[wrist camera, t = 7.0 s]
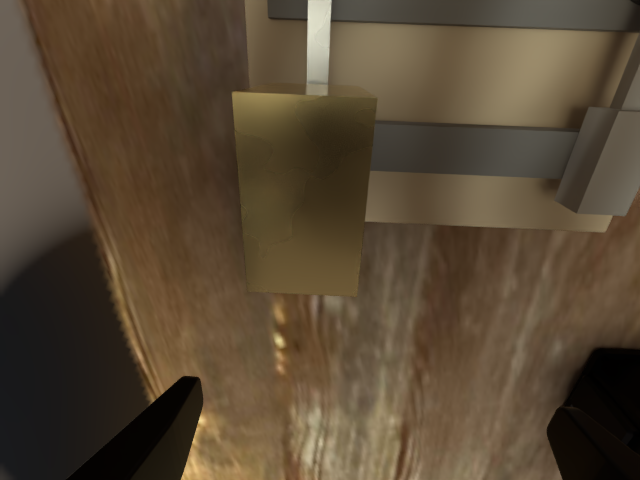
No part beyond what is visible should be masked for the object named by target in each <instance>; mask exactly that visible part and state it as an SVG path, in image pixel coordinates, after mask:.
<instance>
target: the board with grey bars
mask: <svg viewBox="0 0 640 480" xmlns="http://www.w3.org/2000/svg"><path fill="white" fill-rule="evenodd" d="M245 14H246V33H247V51H248V69H249V87H250V88H252V87H256V86H260V85H265V84H269V83H298V84H307V35H308V0H245ZM328 85H348V86H360V87H361V88H363V89H365V90H366V91H368V92H369V93H371V94H372V95H374V96H376V97H377V98H378V100H377V109H376V119H375V129H374V138H373V148H372V157H371V167H370V177H369V186H368V196H367V205H366V215H365V222H387V223H409V224H431V225H453V226H475V227H497V228H519V229H541V230H563V231H585V232H606V230H607V227H608V225H609V223H610V221H611V219H612V217H613V215H616V216H626V214H627V212H628V210H629V208H630V206H631V203H632V201H633V199H634V197H635V195H636V193H637V191H638V189H639V187H640V0H332V2H331V26H330V50H329V74H328Z"/></svg>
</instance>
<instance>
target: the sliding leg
mask: <svg viewBox="0 0 640 480" xmlns="http://www.w3.org/2000/svg"><path fill="white" fill-rule="evenodd" d="M331 2H332V0H308V35H307V84H298V83H269V84H265V85H260V86H256V87H252V88H247V89H243V90H238V91H234V92H232V102H233V115H234V128H235V141H236V154H237V167H238V180H239V193H240V206H241V219H242V231H243V244H244V257H245V270H246V283H247V292H268V293H289V294H309V295H330V296H350V297H357V292H358V282H359V273H360V263H361V254H362V244H363V234H364V225H365V215H366V205H367V196H368V186H369V177H370V167H371V157H372V148H373V138H374V129H375V119H376V109H377V100H378V98H377V97H376V96H374V95H372V94H371V93H369V92H368V91H366V90H365V89H363V88H361V87H360V86H348V85H328V74H329V50H330V26H331Z"/></svg>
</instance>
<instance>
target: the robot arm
mask: <svg viewBox="0 0 640 480" xmlns="http://www.w3.org/2000/svg"><path fill="white" fill-rule="evenodd" d="M202 407H203V393H202V387H201V381H200V378H199V377H193V376H183V377H181V378H180V379H179V380H178V381H177V382H176V383H174V384H173V385H172V386H171V387H170V388H169V389H168V390H166V391H165V392H164V393H163V394H162V395H161V396H160V397H159V398H157V399H156V400H155V401H154V402H153V403H152V404H151V405H150V406H148V407H147V408H146V409H145V410H144V411H143V412H142V413H141V414H139V415H138V416H137V417H136V418H135V419H134V420H133V421H131V422H130V423H129V424H128V425H127V426H126V427H125V428H124V429H122V430H121V431H120V432H119V433H118V434H117V435H116V436H114V438H112V439H111V440H110V441H109V442H108V443H107V444H105V445H104V446H103V447H102V448H101V449H100V450H99V451H97V452H96V453H95V454H94V455H93V456H92V457H91V458H90V459H89V460H87V461H86V462H85V463H84V464H83V465H82V466H81V467H79V468H78V469H77V470H76V471H75V472H74V473H73V474H71V475H70V476H69V477H68V478H67V479H66V480H181V477H182V475H183V472H184V468H185V465H186V462H187V459H188V455H189V452H190V448H191V445H192V441H193V438H194V435H195V431H196V428H197V424H198V421H199V417H200V414H201V411H202ZM547 437H548V440H549V443H550V445H551V448H552V451H553V454H554V457H555V460H556V462H557V465H558V468H559V471H560V474H561V476H562V479H563V480H640V350H620V349H599V350H597V351H595V352H594V353H593V355H592V357H591V358H590V360H589V362H588V364H587V366H586V368H585V369H584V371H583V373H582V375H581V377H580V379H579V380H578V382H577V384H576V386H575V388H574V389H573V391H572V393H571V395H570V397H569V399H568V400H567V402H566V404H565V406H564V407H559V408H558V409H557V410H556V412H555V413H554V415H553V417H552V419H551V421H550V423H549V424H548V426H547Z"/></svg>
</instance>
